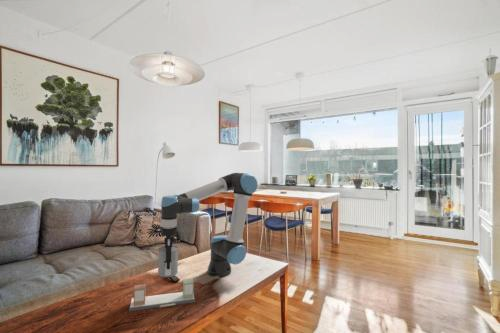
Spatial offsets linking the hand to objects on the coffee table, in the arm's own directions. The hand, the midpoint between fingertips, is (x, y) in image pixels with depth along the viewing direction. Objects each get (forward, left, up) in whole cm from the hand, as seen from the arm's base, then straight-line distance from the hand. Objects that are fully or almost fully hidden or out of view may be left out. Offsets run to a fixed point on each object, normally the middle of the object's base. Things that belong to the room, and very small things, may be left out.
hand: (167, 270), depth 131 cm
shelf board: (+2, +1, -15) cm, 15 cm away
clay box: (+13, +1, -14) cm, 19 cm away
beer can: (0, 0, -1) cm, 1 cm away
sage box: (-10, +1, -14) cm, 17 cm away
